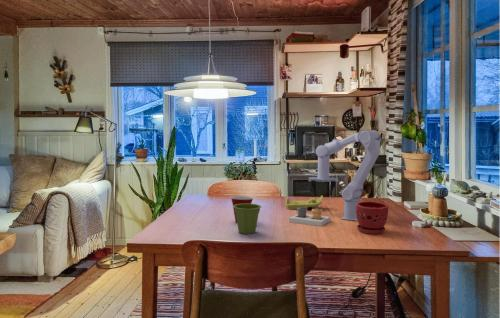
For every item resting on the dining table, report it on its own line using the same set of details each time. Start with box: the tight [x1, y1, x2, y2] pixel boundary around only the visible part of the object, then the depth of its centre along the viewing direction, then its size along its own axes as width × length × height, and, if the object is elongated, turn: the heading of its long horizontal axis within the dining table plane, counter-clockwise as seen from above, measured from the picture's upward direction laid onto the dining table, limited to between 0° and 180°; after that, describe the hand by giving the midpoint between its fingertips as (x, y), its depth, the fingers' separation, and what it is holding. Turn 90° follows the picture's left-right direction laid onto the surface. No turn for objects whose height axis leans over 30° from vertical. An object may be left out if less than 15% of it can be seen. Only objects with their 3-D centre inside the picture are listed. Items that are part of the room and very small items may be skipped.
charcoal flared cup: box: [296, 207, 308, 218], centre depth 201 cm, size 5×5×6 cm
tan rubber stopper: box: [311, 208, 323, 220], centre depth 198 cm, size 5×5×6 cm
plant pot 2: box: [356, 200, 389, 235], centre depth 180 cm, size 13×13×12 cm
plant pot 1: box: [232, 203, 262, 235], centre depth 179 cm, size 12×12×11 cm
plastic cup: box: [230, 195, 254, 223], centre depth 198 cm, size 11×11×12 cm
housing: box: [288, 213, 332, 227], centre depth 200 cm, size 16×12×2 cm
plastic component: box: [285, 195, 324, 210], centre depth 231 cm, size 20×7×10 cm
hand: (323, 195), depth 215 cm, fingers open, 7 cm apart
